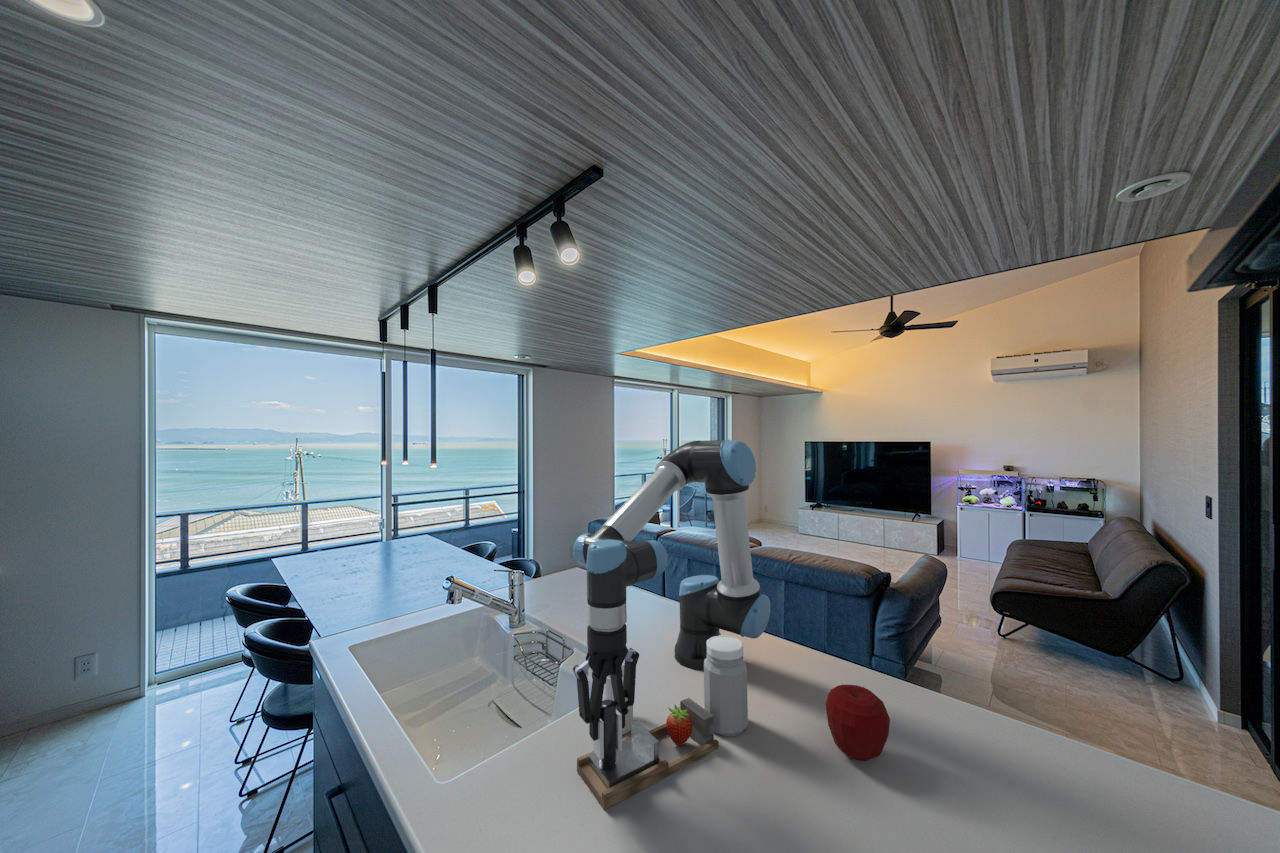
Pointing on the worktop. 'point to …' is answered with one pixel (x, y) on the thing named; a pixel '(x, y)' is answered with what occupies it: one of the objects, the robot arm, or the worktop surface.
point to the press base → (650, 776)
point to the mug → (609, 696)
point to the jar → (726, 685)
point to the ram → (623, 750)
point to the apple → (857, 721)
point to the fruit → (679, 726)
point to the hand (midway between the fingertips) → (607, 750)
